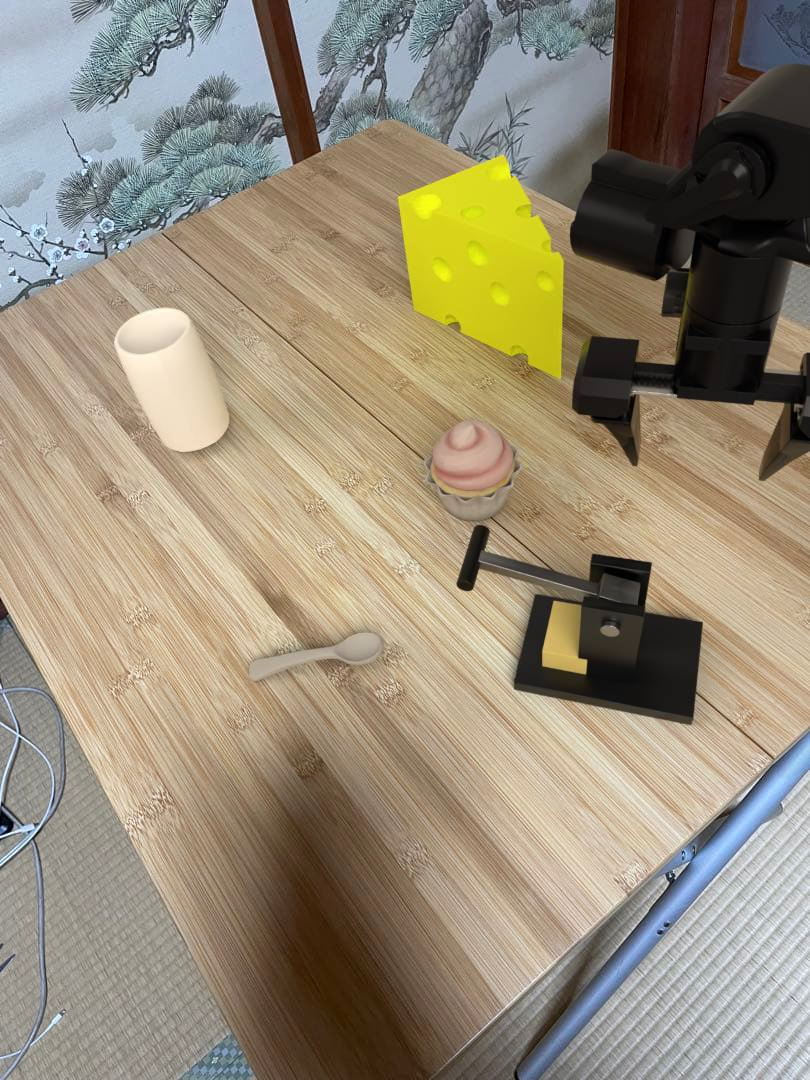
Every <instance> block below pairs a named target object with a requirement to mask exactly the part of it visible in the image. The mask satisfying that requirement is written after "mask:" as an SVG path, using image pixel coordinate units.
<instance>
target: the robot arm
mask: <svg viewBox="0 0 810 1080" xmlns="http://www.w3.org/2000/svg"><path fill="white" fill-rule="evenodd" d="M590 173H591V175H590V181H589V182H588V184H587V186H586V188H585V190H584V191H583V193H582V196H581V198H580V200H579V202H578V206H577V209H576V212H575V216H574V220H573V221H572V222H571V224H570V226H569V243H570V247H571V251H572V252H573V254H574V256H577V257H579V258H582V259H585V260H588V261H592V262H593V263H594V262H595V263H597V264H600V265H603V266H606V267H610V268H613V269H615V270H618V271H622V272H625V273H628V274H631V275H634V276H637V277H640V278H643V279H646V280H649V281H652V282H657V281H660V280H661V279H662V278H664V277H665V283H664V291H663V297H662V298H663V299H662V305H661V312H660V316H661V317H662V318H671V319H672V318H673V319H674V318H675V319H680V320H679V327H678V332H677V339H676V344H675V345H676V347H675V358H674V359H675V360H674V364H671V363H670V364H669V363H660V362H659V363H656V362H647V361H637V360H638V359H639V358H638V357H639V351H640V339H635V338H621V337H609V336H597V335H596V336H595V335H591V336H589V338H588V339H587V340H585V341H584V342H583V343H582V346H581V350H580V354H579V358H578V363H577V366H576V371H575V374H574V378H573V386H572V395H571V396H572V397H571V398H572V399H571V409H572V410H573V412H575V413H576V414H577V415H579V416H580V415H581V416H589V418H590V420H591V422H592V423H594V424H597V425H598V424H599V425H603V426H604V427H605V428H606V429H607V430H608V432H609V433H610V434H611V435H612V436H613V437H614V438H615V440H616V441H617V442H618V444H619V445H620V447H621V449H622V451H623V453H624V454H625V456H626V458H627V459H628V461H629V463H630V464H631V467H638V466H639V460H640V454H641V453H640V452H641V446H642V430H641V428H642V427H641V399H640V398H641V396H649V397H659V398H668V399H681V400H692V401H699V402H701V401H702V402H713V403H721V404H722V403H723V404H735V405H745V406H754V405H755V401H757V402H768V403H779V404H783V408H782V410H781V413H780V415H779V418H778V420H777V422H776V425H775V427H774V429H773V431H772V434H771V436H770V439H768V443H767V445H766V447H765V450H764V452H763V454H762V458H761V461H760V465H759V469H758V481H759V482H765V481H767V480H768V479H770V477H772V476H774V475H775V474H776V473H778V472H779V471H780V470H782V469H783V468H785V467H786V466H787V465H789V464H791V463H792V462H793V461H795V460H797V459H798V458H800V457H802V456H804V455H807V454H808V453H810V352H805V353H803V355H802V357H801V358H802V359H801V361H800V365H799V370H789V369H778V368H767V364H768V363H767V362H768V359H769V354H770V351H771V347H772V344H773V340H774V336H775V333H776V329H777V325H778V322H779V317H780V314H781V310H782V306H783V301H784V298H785V294H786V290H787V287H788V283H789V280H790V275H791V272H792V268H793V265H794V262H796V263H799V264H802V265H807V266H810V65H809V64H804V63H789V64H779V65H777V66H775V67H772V68H770V69H768V70H767V71H766V72H764V73H762V74H761V75H759V77H758V78H757V79H755V80H754V81H753V82H752V83H751V84H750V85H749V86H747V88H745V89H744V90H742V92H741V93H740V94H739V95H738V96H736V97H735V98H734V99H733V100H732V101H731V102H729V104H727V106H725V107H724V108H723V109H722V110H721V111H720V112H718V114H716V115H715V116H714V117H713V118H712V119H711V120H710V121H709V122H708V123H707V124H706V125H705V126H704V127H703V128H702V129H701V131H700V132H699V135H698V136H697V138H696V140H695V142H694V144H693V150H692V156H691V160H690V161H689V162H688V163H687V164H686V165H685V166H684V167H682V169H680V168H676V167H672V166H669V165H663V164H660V163H656V162H652V161H648V160H644V159H640V158H638V157H636V156H634V155H632V154H630V153H628V152H625V151H621V150H617V149H614V148H610V149H609V150H607V151H606V152H605V153H604V154H603V155H601V156H600V157H599V158H598V159H597V160H595V161H594V163H592V164H591V171H590ZM689 259H690V264H689V267H684V266H685V265H686V264H687V262H688V261H689Z"/></svg>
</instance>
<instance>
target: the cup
mask: <svg viewBox="0 0 810 1080" xmlns="http://www.w3.org/2000/svg"><path fill="white" fill-rule="evenodd" d="M113 345H114V349H115V351H116V353H117V357H118V359H119V362H120V364H121V367H122V368H123V372H124V374H125V376H126V378H127V380H128V382H129V384H130V386H131V388H132V390H133V393H134V394H135V396H136V398H137V400H138V402H139V405H140V406H141V407H142V409H143V412H144V413H145V415H146V417H147V419H148V420H149V422H150V424H151V426H152V427H153V429H154V431H155V432H156V434H157V436H158V437H159V439H160V440H161V442H162V443H163V445H165V447H166V448H168V449H170V450H173V451H175V452H181V453H186V452H188V453H189V452H195V451H199V450H202V449H205V448H208V447H209V446H211V445H213V444H215V443H216V442H218V441H219V440H220V439H221V438H222V437H223V435H224V434H225V433H226V431H227V430H228V428H229V424H230V414H229V409H228V407H227V402H226V399H225V397H224V394H223V390H222V388H221V385H220V382H219V379H218V376H217V374H216V370H215V369H214V368H215V367H214V366H213V363H212V361H211V358H210V356H209V354H208V352H207V349H206V347H205V344H204V343H203V340H202V338H201V336H200V334H199V332H198V330H197V328H196V327H195V324H194V323H193V320H192V318H190V316H189V315H188V314H187V313H186V312H184V311H183V310H180V309H177V308H173V307H168V306H167V307H157V308H152V309H148V310H145V311H143V312H140V313H137V314H136V315H134V316H132V317H130V318H129V319H127V320H126V321H125V322H124V323H123V324H122V325H121V326H120V328H118V330H117V332H116V334H115V337H114V341H113Z"/></svg>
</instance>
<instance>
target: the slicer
mask: <svg viewBox="0 0 810 1080" xmlns="http://www.w3.org/2000/svg"><path fill="white" fill-rule="evenodd" d="M652 567H653V562H652V561H646V560H638V559H633V558H627V557H619V556H613V555H606V554H600V553H598V554H597V553H592V554H591V557H590V562H589V577H588V581H592V582H595V583H599V582H600V579H601V577H602V575H603V573H606V574H609V575H613V576H616V577H620V578H624V579H627V580H631V581H634V582H638V583H640V590H639V597H638V603H637V605H634V604H628V603H622V602H616V601H610V600H604V599H598V598H592V597H586V596H584V597H583V598H582V600H576V599H575V600H574V599H569V598H563V597H557V596H550V595H545V594H539V593H535V594H534V596H533V597H534V598H533V602H532V605H531V608H530V613H529V617H528V621H527V626H526V630H525V634H524V638H523V643H522V645H521V651H520V655H519V659H518V662H517V667H516V671H515V676H514V679H513V690H515V691H519V692H524V693H529V694H534V695H539V696H543V697H549V698H554V699H558V700H563V701H568V702H572V703H578V704H583V705H589V706H592V707H593V706H594V707H597V708H602V709H603V708H605V709H608V710H614V711H618V712H624V713H628V714H632V715H633V714H634V715H639V716H642V717H643V716H644V717H649V718H652V719H657V720H664V721H668V722H672V723H677V724H678V723H679V724H683V725H688V726H692V725H693V722H694V717H695V709H696V697H697V686H698V678H699V677H698V676H699V669H700V668H699V667H700V658H701V657H700V656H701V648H702V636H703V627H704V622H703V621H700V620H695V619H688V618H683V617H675V616H671V615H665V614H658V613H652V612H647V611H646V604H647V603H646V602H647V596H648V591H649V585H650V579H651V572H652ZM554 601H559V602H565V603H571V604H577V605H582V606H581V620H580V636H579V651H578V658H579V659H584V660H587V668H586V674H581V673H575V672H570V671H565V670H560V669H554V668H549V667H544V666H542V650H543V646H544V641H545V637H546V633H547V628H548V624H549V619H550V615H551V611H552V606H553V602H554Z"/></svg>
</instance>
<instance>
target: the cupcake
mask: <svg viewBox="0 0 810 1080" xmlns="http://www.w3.org/2000/svg"><path fill="white" fill-rule="evenodd" d="M431 450H432V454H431V455H430V456H428V457H427V458H426V459H424V460H423V465H424V467H425V469H426V470H427V471H428V472H427V474H426V476H425V478H424V482H425V483H426V484H428V485H429V486H430V487H431V488H432V489H434V491H436V493H437V495H438V497H439V498H440V500H441V502H442V504H443V506H444V508H445V509H446V510H447V512H449V513H450V514H451V515H453V516H454V517H456V518H458V519H460V520H462V521H466V522H468V521H469V522H480V521H484V520H487V519H491V518H492V517H494V516H496V515H497V514H498V513H499V512H500V511H501V510H502V509H503V508H504V507H505V506H506V504H507V502H508V498H509V495H510V491H511V489H512V488H514V485H515V479H516V478H517V477H518V475H519V474H520V472H521V471H522V470H523V468H524V466H523V464H522V463H521V462H520V461H519V459H517V458H518V455H519V451H520V448H519V447H517V446H514V445H511V444H510V442H509V441H508V439H507V438H506V437H505V436H504V435H503V434H502V433H501V432H500V431H498V430H496V428H495V427H493V426H492V425H491V424H489V423H487V422H485V421H482V420H478V419H464V420H461V421H460V422H458V423H457V424H455V425H453V426H451V427H450V428H449V429H448V430H447V431H445V432H444V433H443V434H442V435H441V436H440V437H439V438H438V440H437V441H436V442H435V444H434V446H433V448H432V449H431Z"/></svg>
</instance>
